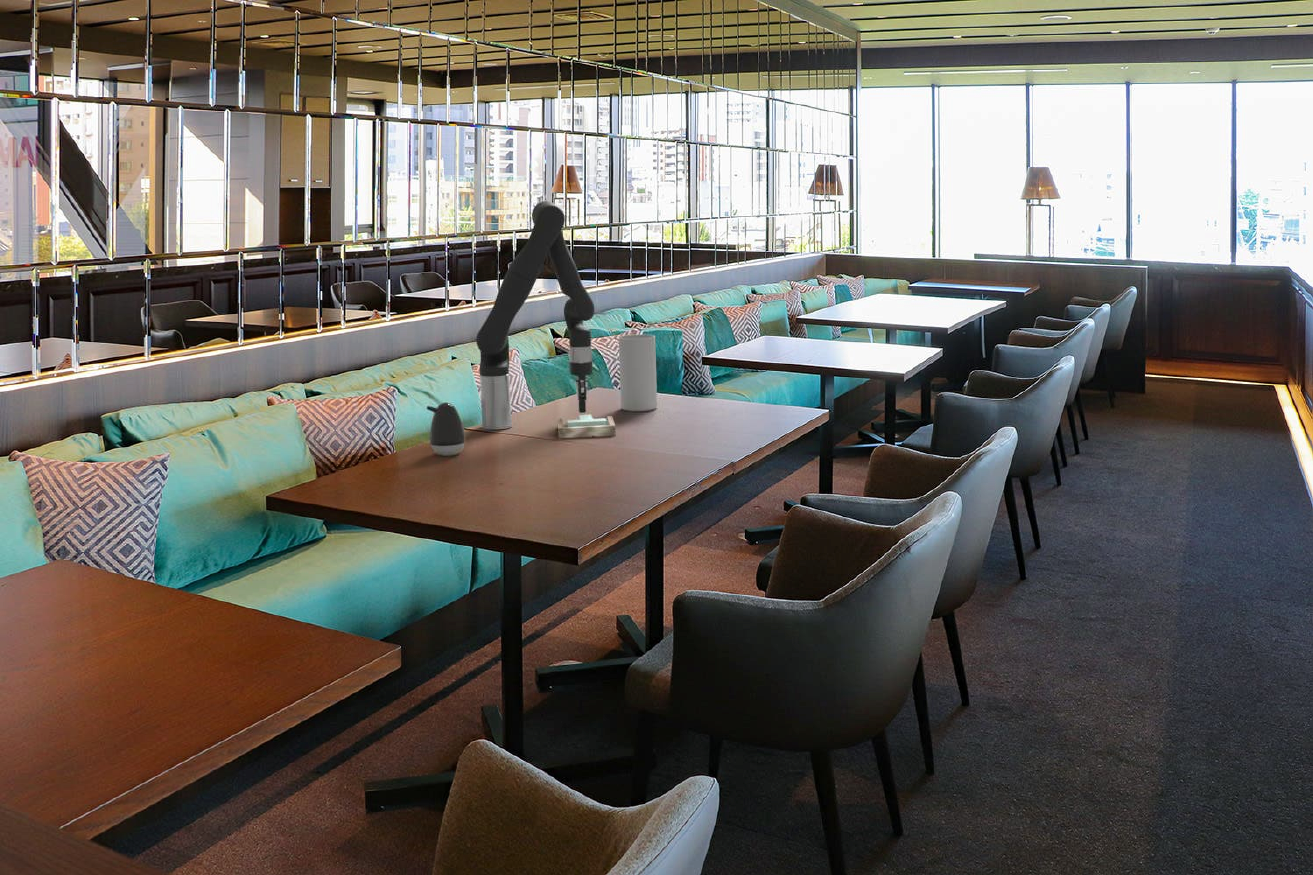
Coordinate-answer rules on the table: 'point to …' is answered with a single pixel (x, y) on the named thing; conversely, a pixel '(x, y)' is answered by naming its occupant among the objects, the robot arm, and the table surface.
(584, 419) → the t block
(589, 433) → the shallow wooden tray
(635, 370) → the cylinder vase
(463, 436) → the pump dispenser
